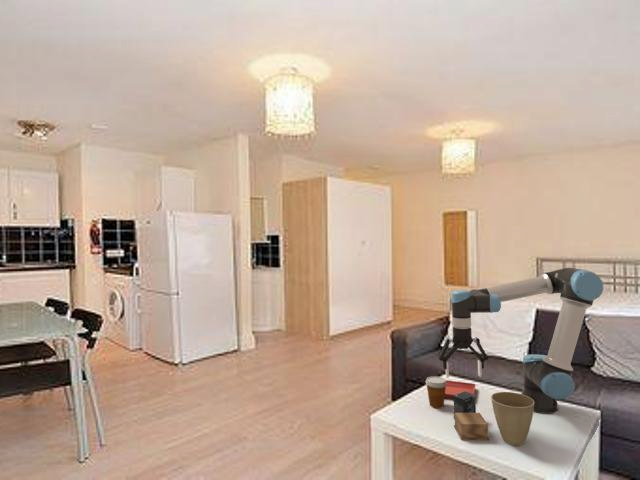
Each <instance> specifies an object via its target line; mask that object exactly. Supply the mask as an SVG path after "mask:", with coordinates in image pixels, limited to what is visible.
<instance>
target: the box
mask: <svg viewBox="0 0 640 480" xmlns="http://www.w3.org/2000/svg"><path fill="white" fill-rule="evenodd" d="M476 404H477V401H476V395H475V393H474V394H471V393H468V392H466V391H464V392H462V393H459V394H457V395H454V399H453V419H454V421H455V413H477V411H476V410H477V405H476Z"/></svg>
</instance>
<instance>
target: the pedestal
mask: <svg viewBox="0 0 640 480" xmlns="http://www.w3.org/2000/svg"><path fill="white" fill-rule="evenodd" d="M453 428H454V430H455V431H456V433H457V436H458V437H459V439H460V440H461V441H490V437H489V423H488V422H487V421H486V420H485V418H484V417H483V416H482V414H481V413H480V412H476V413H455V420H454V425H453Z"/></svg>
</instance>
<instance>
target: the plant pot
mask: <svg viewBox="0 0 640 480" xmlns="http://www.w3.org/2000/svg"><path fill="white" fill-rule="evenodd" d="M490 399H491V403H492V404H491V406H492V410H493V414H494V417H495V421H496V424H497V428H498V429H499V433H500V436H501V438H502V441H503V442H504V443H506V444H508V445H512V446H523V445H524V444H525V442H526V439H528V434H529V432H530V428H531V424H532V421H533V418H534V417H533V416H534V412H533V410H534V400H533V399H531V398H530V397H528V396H525V395H522V393H517V392H511V391H502V392H501V391H499V392H495V393H493V394H491V397H490Z"/></svg>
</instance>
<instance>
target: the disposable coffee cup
mask: <svg viewBox="0 0 640 480" xmlns="http://www.w3.org/2000/svg"><path fill="white" fill-rule="evenodd" d="M425 384H426V388H427V389H426V390H427V394H428V401H429V402H428V403H429V406H430V407H431V408H433V409H441V408H444V406H445V399H446V398H445V389H446V384H447V382H446V378H444V377H441V376H428V377H427V378H426V380H425Z"/></svg>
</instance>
